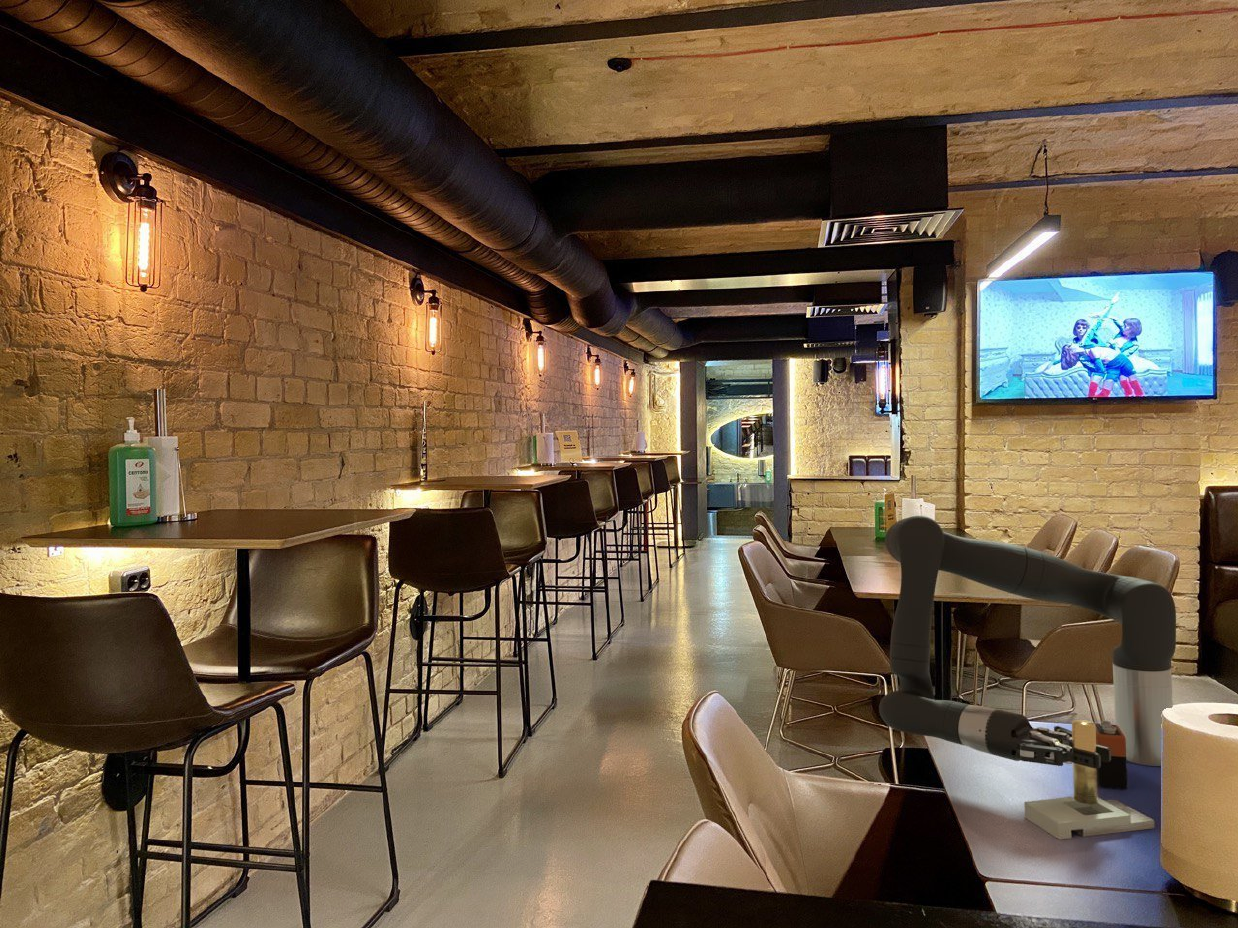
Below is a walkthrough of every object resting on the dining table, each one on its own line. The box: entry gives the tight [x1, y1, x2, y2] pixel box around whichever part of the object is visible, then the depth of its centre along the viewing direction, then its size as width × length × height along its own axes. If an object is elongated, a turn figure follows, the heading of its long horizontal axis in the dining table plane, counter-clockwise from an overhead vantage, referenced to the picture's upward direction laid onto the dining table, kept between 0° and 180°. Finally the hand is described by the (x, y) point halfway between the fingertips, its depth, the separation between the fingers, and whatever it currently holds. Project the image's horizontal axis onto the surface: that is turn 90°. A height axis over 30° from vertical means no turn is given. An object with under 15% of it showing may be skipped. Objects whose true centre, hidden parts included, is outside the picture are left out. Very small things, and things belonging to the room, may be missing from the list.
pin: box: [1071, 719, 1099, 804], centre depth 127 cm, size 3×3×12 cm
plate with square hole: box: [1023, 795, 1131, 840], centre depth 127 cm, size 12×8×2 cm, turn 99°
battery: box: [1094, 720, 1128, 790], centre depth 142 cm, size 4×7×10 cm, turn 158°
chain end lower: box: [1073, 798, 1155, 837], centre depth 128 cm, size 12×8×1 cm, turn 99°
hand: (1104, 758), depth 125 cm, fingers closed on pin, 3 cm apart
